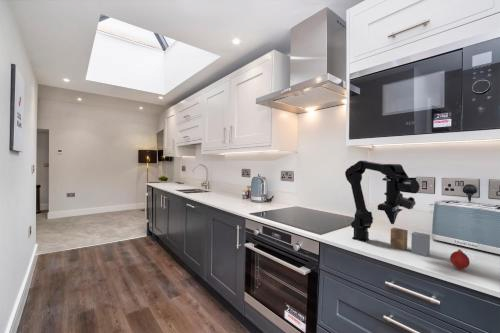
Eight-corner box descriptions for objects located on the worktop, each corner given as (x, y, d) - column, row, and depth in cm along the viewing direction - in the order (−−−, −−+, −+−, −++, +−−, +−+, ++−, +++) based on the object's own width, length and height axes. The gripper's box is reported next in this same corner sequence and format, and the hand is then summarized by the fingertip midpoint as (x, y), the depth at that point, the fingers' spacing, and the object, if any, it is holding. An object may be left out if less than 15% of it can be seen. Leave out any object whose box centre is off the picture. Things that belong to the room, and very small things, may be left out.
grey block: (411, 252, 111) (411, 233, 111) (414, 250, 113) (414, 231, 113) (426, 256, 106) (427, 236, 106) (429, 254, 109) (430, 234, 109)
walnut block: (390, 247, 118) (390, 228, 118) (393, 245, 120) (394, 227, 120) (403, 250, 113) (404, 231, 113) (407, 248, 116) (407, 230, 116)
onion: (449, 265, 98) (450, 245, 98) (468, 269, 94) (469, 249, 94) (449, 269, 93) (450, 249, 93) (469, 274, 90) (470, 253, 89)
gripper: (405, 194, 99) (404, 231, 100) (420, 191, 111) (419, 224, 111) (377, 191, 108) (376, 225, 108) (394, 188, 120) (393, 219, 120)
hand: (392, 224), depth 112 cm, fingers closed
